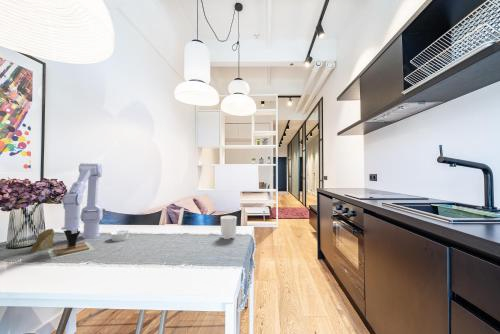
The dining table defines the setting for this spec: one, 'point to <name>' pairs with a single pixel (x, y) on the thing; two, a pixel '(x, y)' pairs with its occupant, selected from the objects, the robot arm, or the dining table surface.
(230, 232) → the candle holder
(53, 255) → the mat
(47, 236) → the rock
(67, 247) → the lid
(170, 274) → the dining table surface
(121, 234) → the ramekin
